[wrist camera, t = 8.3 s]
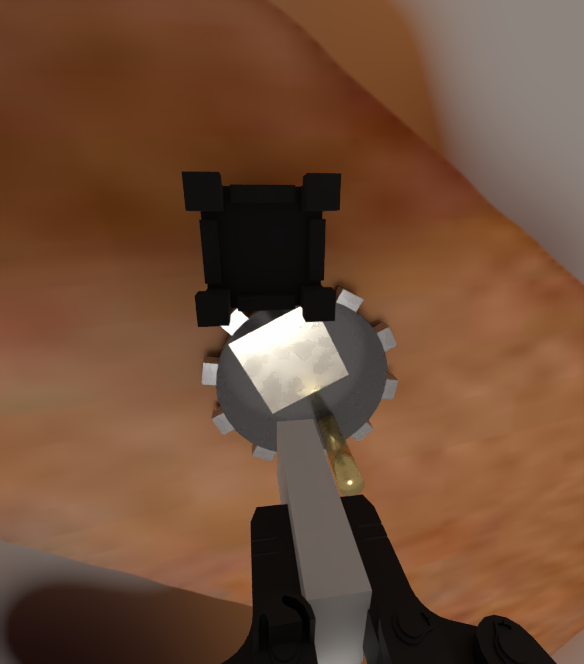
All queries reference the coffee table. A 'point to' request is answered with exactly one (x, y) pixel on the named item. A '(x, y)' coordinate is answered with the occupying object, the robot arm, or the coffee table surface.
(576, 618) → the coffee table surface
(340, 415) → the sprocket
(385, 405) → the coffee table surface
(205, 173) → the chess piece
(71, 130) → the coffee table surface
